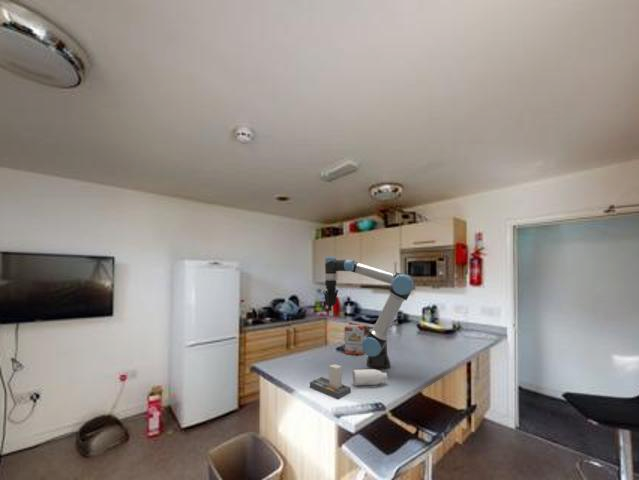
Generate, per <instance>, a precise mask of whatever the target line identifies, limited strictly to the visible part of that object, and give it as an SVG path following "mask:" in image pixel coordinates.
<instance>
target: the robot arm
mask: <svg viewBox="0 0 639 480" xmlns="http://www.w3.org/2000/svg"><path fill="white" fill-rule="evenodd" d="M324 269H325V270H324V271H325V273H324V275H325V276H324V277H325V278H324V279H325V282H324V283H325V290H323V291H322V292H323V295H324V299H325V305H326V306H328V307H327V309H328V316H330V317H333V316H334V308H335V306H336V304H337V300H338V299H337V298H338V292H339V289H337V288H336V286H337V272H351V273H355V274H358V275H361V276H364V277H367V278H370V279H373V280H377V281H380V282H384V283H387V284H388V285H390V288H389V290H388V293H389V296H388V298H387V300H386V302H385V304H384V306H383V308H382V309H381V312H380V314H379V316H378V318H377V320H376V322H375V324H374V326H373V328H369V329H368V332H367V334H366V336H365V337H364V340H363V342H362V348H363V351H364V355H366V356H367V359H366V366H367V367H369V369H376V370H387V369H389V368H390V367H391V361H390V357H389V356H388V332H389V331H390V329H391V327H392V324H393V323H394V321H395V319H396V317H397V314H398V312H399V311H400V308H401V307H402V305H403V302H404V301H405V302H406V301H407V300H408V298H409V296H410V294H411V292H412V291H413V290H414V288H415V287H416V282H415V279H414V278H413V277H412V276H411V275H410V274H407V273H400V272H397V271H395V272H392V271H389V270H384V269H381V268H377V267H374V266H371V265H367V264H365V263H361V262H357V261H355V260H353V259H337V257H336V256H335V257H333V256H331V257H330V256H327V257H326V258H325V263H324Z"/></svg>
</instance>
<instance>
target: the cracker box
mask: <svg viewBox="0 0 639 480" xmlns="http://www.w3.org/2000/svg"><path fill="white" fill-rule="evenodd" d="M344 333H345V334H344V336H345V337H344V340H345V341H344V343H345V344H344V346H345V347H344V352H345V354H346V355H356V354H358V355H359V356H361V355H362V356H364V355H365V352H364V351H363V348H362V342H363V340H364V339H365V326H364V324H351V323H350V324H349V323H348V324H347V323H346V324H345V326H344ZM358 355H357V356H358Z"/></svg>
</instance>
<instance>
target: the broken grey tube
mask: <svg viewBox="0 0 639 480" xmlns="http://www.w3.org/2000/svg"><path fill="white" fill-rule="evenodd" d="M351 376H352V382H353V385H354V386H355V387H356V386H377V385H381V384H382V383H383V382H384V383H385V382H386V381H387V380H388V379H389V377H388V374H387V372H386V371H385V372H383V371H381V370H380V369H373V368H369V369H352V374H351Z"/></svg>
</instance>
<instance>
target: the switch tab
mask: <svg viewBox="0 0 639 480" xmlns="http://www.w3.org/2000/svg"><path fill="white" fill-rule="evenodd" d="M328 370H329V372H328V373H329V378H328V379H329V385H331V386H333V387H336V388H340V387H342V384H343V381H342V380H343V379H342V378H343V377H342V375H343V373H342V372H343V369H342V365H338V364H335V363H334V364H331V365H329V369H328Z"/></svg>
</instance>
